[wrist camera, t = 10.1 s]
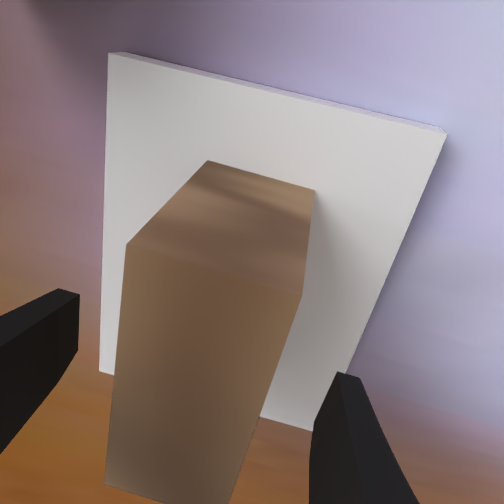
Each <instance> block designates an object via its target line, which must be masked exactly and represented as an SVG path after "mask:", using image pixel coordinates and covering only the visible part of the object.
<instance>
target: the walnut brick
mask: <svg viewBox="0 0 504 504" xmlns="http://www.w3.org/2000/svg"><path fill="white" fill-rule="evenodd" d="M314 191H315V190H312V189H309V188H305V187H302V186H298V185H295V184H291V183H288V182H284V181H280V180H277V179H273V178H270V177H266V176H263V175H259V174H256V173H252V172H248V171H245V170H241V169H238V168H234V167H231V166H227V165H224V164H220V163H216V162H213V161H209V160H207V161H206V162H205V163H204V164H203V165H202V166H201V167H200V168H199V169H198V170H197V171H196V172H195V173H194V175H193V176H192V177H191V178H190V179H189V180H188V181H187V182H186V183H185V184H184V185H183V186H182V187H181V188H180V189H179V190H178V191H177V192H176V193H175V194H174V195H173V196H172V197H171V198H170V199H169V200H168V201H167V203H166V204H165V205H164V206H163V207H162V208H161V209H160V210H159V211H158V212H157V213H156V214H155V215H154V216H153V217H152V218H151V219H150V220H149V221H148V222H147V223H146V224H145V225H144V226H143V227H142V228H141V229H140V231H139V232H138V233H137V234H136V235H135V236H134V237H133V238H132V239H131V240H130V241H129V242H128V243H127V244H126V250H125V261H124V272H123V283H122V294H121V305H120V316H119V327H118V337H117V348H116V359H115V370H114V381H113V392H112V403H111V414H110V425H109V436H108V447H107V457H106V468H105V479H104V485H107V486H110V487H113V488H117V489H120V490H123V491H126V492H129V493H132V494H136V495H139V496H142V497H145V498H148V499H151V500H155V501H158V502H161V503H164V504H228V503H229V501H230V498H231V495H232V492H233V489H234V486H235V484H236V481H237V478H238V475H239V472H240V470H241V467H242V464H243V461H244V458H245V455H246V453H247V450H248V447H249V444H250V441H251V439H252V436H253V433H254V430H255V427H256V424H257V422H258V419H259V416H260V413H261V410H262V408H263V405H264V402H265V399H266V396H267V393H268V391H269V388H270V385H271V382H272V379H273V377H274V374H275V371H276V368H277V365H278V362H279V360H280V357H281V354H282V351H283V348H284V346H285V343H286V340H287V337H288V334H289V332H290V329H291V326H292V323H293V320H294V317H295V315H296V312H297V309H298V306H299V303H300V301H301V298H302V293H303V285H304V276H305V268H306V259H307V251H308V242H309V234H310V225H311V217H312V208H313V200H314Z"/></svg>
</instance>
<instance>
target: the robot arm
mask: <svg viewBox="0 0 504 504" xmlns="http://www.w3.org/2000/svg"><path fill="white" fill-rule="evenodd" d="M79 303H80V295H79V294H76V293H73V292H69V291H66V290H63V289H59V288H58V289H56V290H54V291H52V292H49V293H47V294H45V295H43V296H41V297H39V298H37V299H35V300H33V301H31V302H29V303H27V304H25V305H23V306H20V307H18V308H16V309H14V310H12V311H10V312H8V313H6V314H4V315H1V316H0V454H1V453H2V452H3V450H4V449H5V448H6V447H7V445H8V444H9V443H10V442H11V440H12V439H13V438H14V437H15V435H16V434H17V433H18V432H19V431H20V429H21V428H22V427H23V426H24V424H25V423H26V422H27V421H28V419H29V418H30V417H31V416H32V414H33V413H34V412H35V411H36V410H37V408H38V407H39V406H40V405H41V403H42V402H43V401H44V399H45V398H46V397H47V396H48V394H49V393H50V392H51V391H52V389H53V388H54V387H55V386H56V384H57V383H58V382H59V380H60V378H61V377H62V375H63V374H64V372H65V371H66V369H67V367H68V366H69V364H70V362H71V361H72V359H73V357H74V356H75V354H76V352H77V351H78V334H79ZM309 504H419V502H418V500H417V498H416V497H415V495H414V493H413V491H412V489H411V487H410V486H409V484H408V482H407V480H406V478H405V476H404V474H403V472H402V470H401V468H400V467H399V465H398V463H397V461H396V458H395V456H394V454H393V452H392V450H391V448H390V446H389V444H388V442H387V440H386V438H385V435H384V433H383V431H382V429H381V427H380V424H379V422H378V420H377V417H376V415H375V413H374V410H373V408H372V406H371V403H370V401H369V398H368V396H367V394H366V391H365V389H364V386H363V384H362V382H361V380H360V378H358V377H355V376H352V375H348V374H345V373H342V372H338V371H337V373H336V375H335V377H334V379H333V381H332V383H331V386H330V388H329V390H328V392H327V394H326V396H325V399H324V401H323V403H322V405H321V407H320V410H319V412H318V414H317V416H316V418H315V420H314V425H313V433H312V441H311V450H310V459H309Z"/></svg>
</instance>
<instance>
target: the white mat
mask: <svg viewBox="0 0 504 504" xmlns="http://www.w3.org/2000/svg"><path fill="white" fill-rule="evenodd" d="M446 137H447V134H446V133H445V132H444V131H443V130H442V129H441V128H440V127H436V126H432V125H428V124H424V123H419V122H415V121H411V120H407V119H403V118H399V117H394V116H390V115H386V114H382V113H378V112H373V111H369V110H365V109H361V108H357V107H353V106H348V105H344V104H340V103H336V102H332V101H328V100H323V99H319V98H315V97H311V96H307V95H303V94H298V93H294V92H290V91H286V90H282V89H277V88H273V87H269V86H265V85H261V84H257V83H252V82H248V81H244V80H240V79H236V78H232V77H227V76H223V75H219V74H215V73H211V72H207V71H202V70H198V69H194V68H190V67H186V66H181V65H177V64H173V63H169V62H165V61H161V60H156V59H152V58H148V57H144V56H140V55H136V54H131V53H127V52H114V53H108V78H107V114H106V149H105V185H104V221H103V256H102V292H101V327H100V363H99V371H101V372H104V373H108V374H111V375H114V370H115V359H116V348H117V337H118V327H119V316H120V305H121V294H122V283H123V272H124V261H125V250H126V244H127V243H128V242H129V241H130V240H131V239H132V238H133V237H134V236H135V235H136V234H137V233H138V232H139V231H140V229H141V228H142V227H143V226H144V225H145V224H146V223H147V222H148V221H149V220H150V219H151V218H152V217H153V216H154V215H155V214H156V213H157V212H158V211H159V210H160V209H161V208H162V207H163V206H164V205H165V204H166V203H167V201H168V200H169V199H170V198H171V197H172V196H173V195H174V194H175V193H176V192H177V191H178V190H179V189H180V188H181V187H182V186H183V185H184V184H185V183H186V182H187V181H188V180H189V179H190V178H191V177H192V176H193V175H194V173H195V172H196V171H197V170H198V169H199V168H200V167H201V166H202V165H203V164H204V163H205V162H206V161H207V160H209V161H213V162H216V163H220V164H224V165H227V166H231V167H234V168H238V169H241V170H245V171H248V172H252V173H256V174H259V175H263V176H266V177H270V178H273V179H277V180H280V181H284V182H288V183H291V184H295V185H298V186H302V187H305V188H309V189H312V190H315V191H314V200H313V208H312V217H311V225H310V234H309V242H308V251H307V259H306V268H305V276H304V285H303V293H302V298H301V301H300V303H299V306H298V309H297V312H296V315H295V317H294V320H293V323H292V326H291V329H290V332H289V334H288V337H287V340H286V343H285V346H284V348H283V351H282V354H281V357H280V360H279V362H278V365H277V368H276V371H275V374H274V377H273V379H272V382H271V385H270V388H269V391H268V393H267V396H266V399H265V402H264V405H263V408H262V410H261V413H260V417H263V418H267V419H270V420H274V421H277V422H281V423H285V424H288V425H292V426H295V427H299V428H302V429H306V430H309V431H313V425H314V420H315V418H316V416H317V414H318V412H319V410H320V407H321V405H322V403H323V401H324V399H325V396H326V394H327V392H328V390H329V388H330V386H331V383H332V381H333V379H334V377H335V375H336V373H337V371H338V372H342V373H345V374H346V371H347V369H348V367H349V364H350V362H351V360H352V357H353V355H354V353H355V350H356V348H357V346H358V343H359V341H360V338H361V336H362V334H363V331H364V329H365V327H366V324H367V322H368V320H369V317H370V315H371V313H372V310H373V308H374V306H375V303H376V301H377V299H378V296H379V294H380V292H381V289H382V287H383V285H384V282H385V280H386V278H387V275H388V273H389V271H390V268H391V266H392V264H393V261H394V259H395V256H396V254H397V252H398V249H399V247H400V245H401V242H402V240H403V238H404V235H405V233H406V231H407V228H408V226H409V224H410V221H411V219H412V217H413V214H414V212H415V210H416V207H417V205H418V203H419V200H420V198H421V196H422V193H423V191H424V189H425V186H426V184H427V182H428V179H429V177H430V174H431V172H432V170H433V167H434V165H435V163H436V160H437V158H438V156H439V153H440V151H441V149H442V146H443V144H444V142H445V139H446Z"/></svg>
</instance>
